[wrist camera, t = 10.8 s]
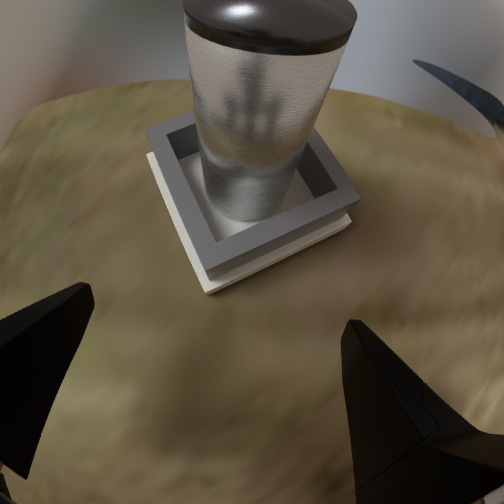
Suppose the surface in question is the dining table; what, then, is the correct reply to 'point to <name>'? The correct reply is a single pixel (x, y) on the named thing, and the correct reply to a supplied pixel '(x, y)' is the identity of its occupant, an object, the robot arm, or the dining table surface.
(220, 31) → the black-capped silver cylinder
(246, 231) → the holder
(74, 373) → the dining table surface
